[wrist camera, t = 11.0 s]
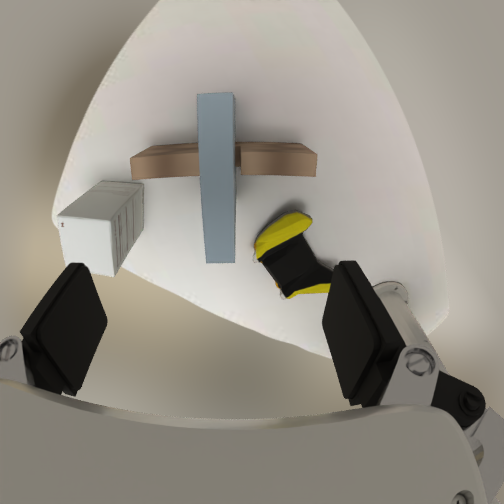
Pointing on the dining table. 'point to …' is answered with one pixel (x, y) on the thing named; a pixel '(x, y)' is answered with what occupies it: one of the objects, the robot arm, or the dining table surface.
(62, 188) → the dining table surface
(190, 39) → the dining table surface
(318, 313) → the dining table surface
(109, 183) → the supplement box
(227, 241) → the slate slotted plate
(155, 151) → the walnut slotted plate
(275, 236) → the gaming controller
